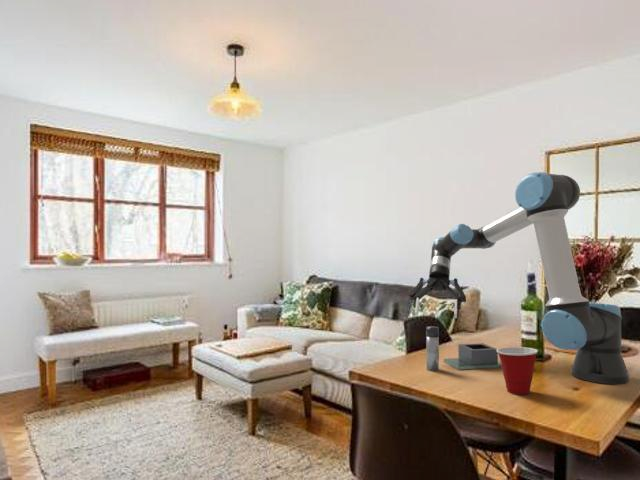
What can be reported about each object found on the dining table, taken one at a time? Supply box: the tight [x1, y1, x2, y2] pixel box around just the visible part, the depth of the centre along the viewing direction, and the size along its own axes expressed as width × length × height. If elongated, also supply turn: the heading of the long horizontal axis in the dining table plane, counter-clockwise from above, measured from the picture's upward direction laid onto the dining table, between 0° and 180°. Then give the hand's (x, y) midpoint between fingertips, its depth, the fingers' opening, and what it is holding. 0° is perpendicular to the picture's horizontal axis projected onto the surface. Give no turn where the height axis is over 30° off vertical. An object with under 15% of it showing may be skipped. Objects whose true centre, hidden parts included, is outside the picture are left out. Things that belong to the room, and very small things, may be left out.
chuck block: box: [443, 343, 502, 371], centre depth 157 cm, size 11×16×6 cm
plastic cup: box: [496, 346, 539, 396], centre depth 128 cm, size 11×11×12 cm
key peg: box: [425, 325, 440, 372], centre depth 151 cm, size 4×4×14 cm
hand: (435, 315), depth 161 cm, fingers open, 13 cm apart
